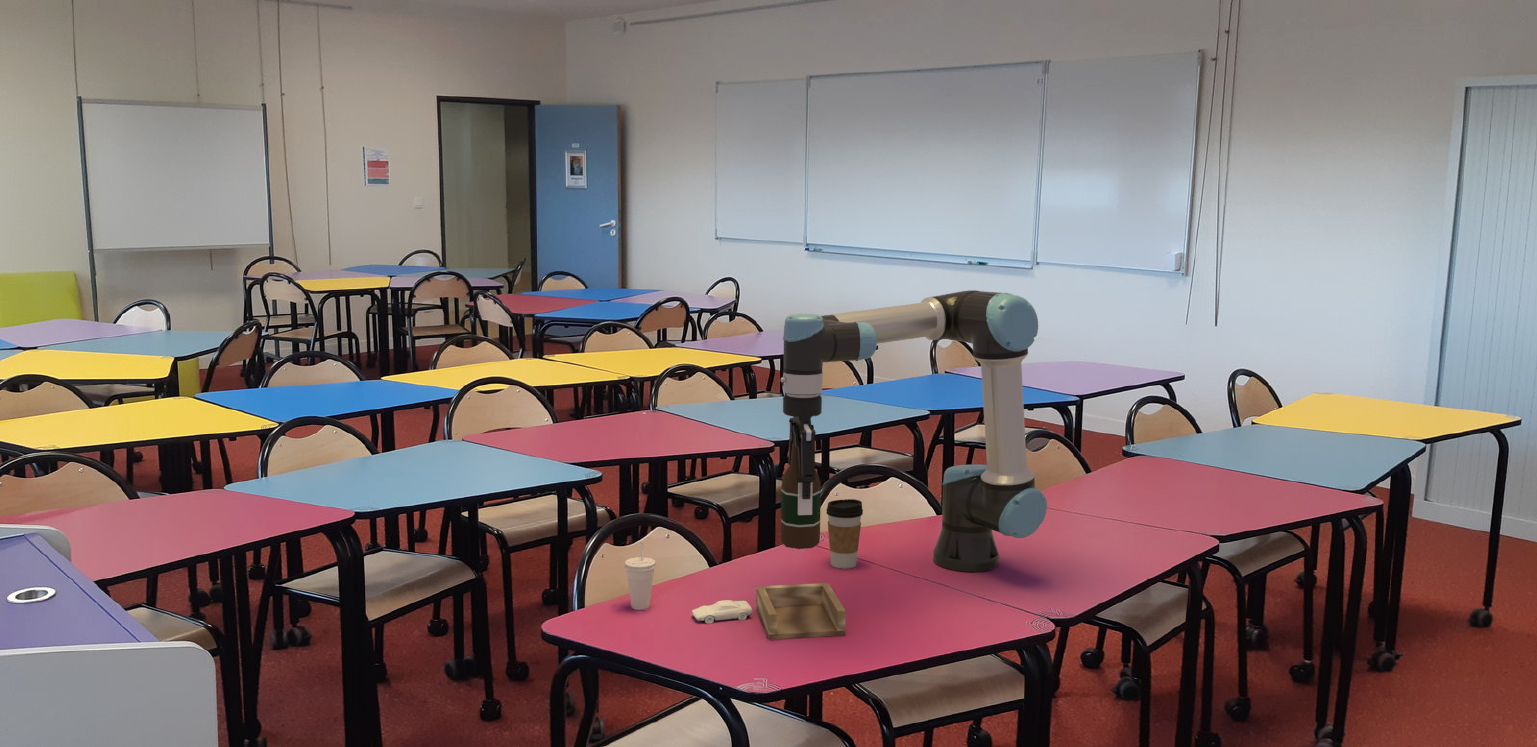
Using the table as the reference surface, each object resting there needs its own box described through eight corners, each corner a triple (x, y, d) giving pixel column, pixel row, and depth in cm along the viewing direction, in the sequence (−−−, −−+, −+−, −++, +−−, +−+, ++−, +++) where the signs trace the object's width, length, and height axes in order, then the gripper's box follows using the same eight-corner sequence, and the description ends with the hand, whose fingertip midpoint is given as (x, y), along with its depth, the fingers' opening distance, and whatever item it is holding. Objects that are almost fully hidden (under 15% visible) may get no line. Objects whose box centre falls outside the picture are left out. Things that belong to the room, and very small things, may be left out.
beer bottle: (820, 538, 220) (823, 421, 217) (818, 550, 212) (821, 428, 209) (782, 536, 221) (783, 420, 217) (778, 548, 213) (780, 427, 210)
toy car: (690, 616, 222) (690, 600, 222) (747, 610, 226) (747, 594, 225) (696, 626, 217) (696, 610, 217) (754, 619, 221) (754, 604, 220)
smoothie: (662, 606, 227) (662, 541, 225) (638, 614, 222) (638, 548, 220) (642, 598, 231) (641, 534, 229) (618, 606, 227) (617, 541, 224)
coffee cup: (862, 570, 251) (864, 507, 249) (826, 570, 251) (827, 506, 249) (860, 559, 259) (861, 497, 257) (824, 558, 259) (825, 497, 257)
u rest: (827, 606, 228) (827, 582, 227) (845, 635, 212) (845, 610, 212) (756, 609, 226) (756, 586, 225) (768, 639, 210) (769, 614, 209)
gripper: (774, 386, 222) (773, 496, 225) (793, 403, 202) (791, 523, 205) (811, 385, 223) (809, 494, 226) (832, 403, 203) (830, 522, 206)
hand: (800, 508), depth 216 cm, fingers closed on beer bottle, 7 cm apart
